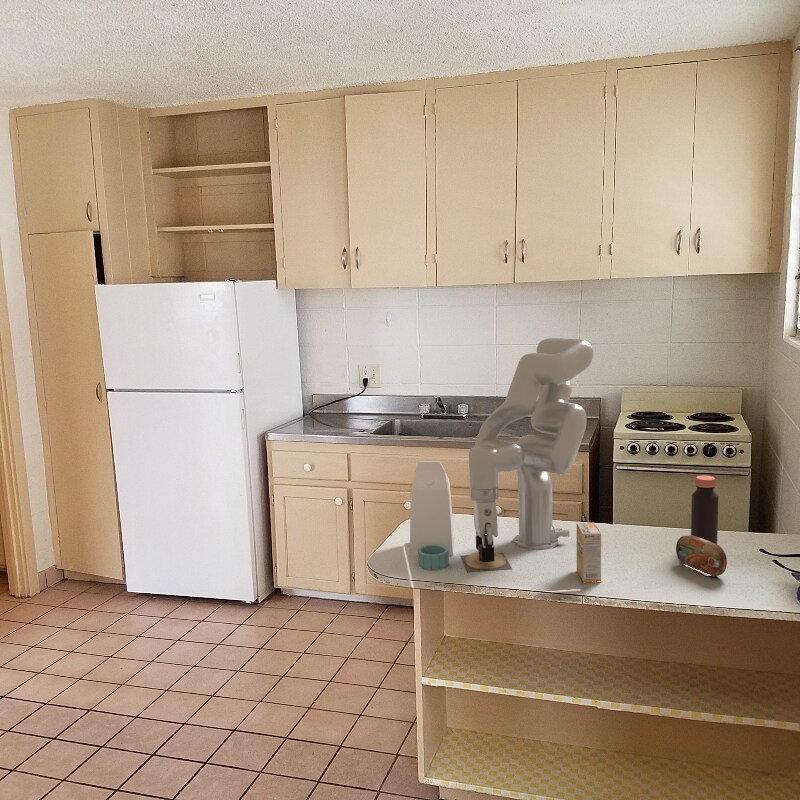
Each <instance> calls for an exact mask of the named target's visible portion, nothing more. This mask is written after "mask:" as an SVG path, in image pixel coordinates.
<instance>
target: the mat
mask: <svg viewBox="0 0 800 800" xmlns="http://www.w3.org/2000/svg"><path fill="white" fill-rule="evenodd" d="M497 553H498V554H501V555H503V556H504V557H505V558H506V564H505V566H503V567H501V568H498V569H494V570H478V569H473V568H470V567H468V566H467V565H466V564H465V558H466V557H467V556H468V555H469V554H465V555H459V556H460V558H461V561H462V563H463V564H462V565H463V566H464V568H465V571H466V573H481V572H493V571H494V572H495V571H496V572H497V571H510V570H511V571H512V570H513V568H512V565H511V564H510V562H509V560H508V559H507V557H506V556H505V554H504V552H497Z"/></svg>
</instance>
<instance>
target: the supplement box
mask: <svg viewBox="0 0 800 800" xmlns="http://www.w3.org/2000/svg"><path fill="white" fill-rule="evenodd" d="M576 571H577V574H578V575H579V577H580V578H581V581H583V582H592V581H593V582H597V581H601V582H602V532H601V531H600V529H599V528H598V526H597V525H596V524H595V522H578V523H576ZM583 582H582V583H583Z"/></svg>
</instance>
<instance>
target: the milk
mask: <svg viewBox="0 0 800 800" xmlns="http://www.w3.org/2000/svg"><path fill="white" fill-rule="evenodd" d="M451 494H452V493H451V483H450V479H449V476H448V474H447V472H446V470H445V468H444V466H443V464H442V462H441V460H418V463H417V466H416V468H415V472H414V475H413V480H412V484H411V489H410V501H409V502H410V503H409V504H410V507H409V511H410V512H409V513H410V516H409V517H410V518H409V527H410V528H409V531H410V532H409V556H410V557H418V549H419V548H421V547H423V546H426V545H441V546H444V547H447V548H448V556H449V557H453V556H454V546H455V537H454V520H453V508H452V495H451Z"/></svg>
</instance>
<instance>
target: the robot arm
mask: <svg viewBox="0 0 800 800" xmlns="http://www.w3.org/2000/svg"><path fill="white" fill-rule="evenodd" d="M593 358H594V348H593V346H592V345H591V343H590V342H588V341H587V340H585V339H581V338H560V337H557V338H556V337H554V338H553V337H552V338H551V337H550V338H545V339H543V340H540V342H538V344H537V347H536V352H529V353H526V354H524V355H522V357H520V359H519V360H518V364H517V366H516V368H515V371H514V374H513V377H512V381H511V383H510V385H509V387H508V390H507V394H506V397H505V400H504V402H503V403H502V404H501V405H499V406H498V407H497V408H495V410H494V411H492V412H491V414H490V415H489V416H488V417H487V418H486V419H485V420H484V421H483V423H482V424H481V426H480V429H479V431H478V433H477V434H478V435H477V437H476V440H475V443H474V446H473V447H471V448H470V449H469V451H468V470H469V471H468V472H469V473H468V475H469V476H468V477H469V478H468V479H469V480H468V481H469V482H468V483H469V499H470V500H471V501H473V524H474V529H475V534H476V535H475V549H476V550H477V551H479V547H478V546H479V545H480V544H483V547H482V561H483V562H493V561H494V553H495V545H494V544H495V541H494V537H495V538H497V537H499V536H498V535H499V531H498V516H497V515H498V513H497V503H496V501H497V500H498V499H499V473H501V472H512V471H517V487H518V490H517V494H518V496H517V498H518V500H517V501H518V534H517V535H515V536H514V537H513V543H514V545H515V546H517V547H519V548H522V549H526V550H536V551H537V550H539V551H540V550H548V549H552V548H556V547H557V546H558V545H559V539H558V538H559V537H560V538H561V537H566V538H567V537H570V530H569V529H563V528H562V527H560V528H559V527H558V528H555V527H554V526H553V482H552V478H551V475H550V474H551V473H552V474H557V475H565V474H566V473H568V472H569V471H570V470H571V469H572V468H573V467H574V463H575V461H576V457H578V453H579V451H580V450H579V449H580V447H581V444H582V441H583V438H584V436H585V431H586V428H587V421H588V420H587V419H588V417H587V413H586V410H585V408H584V407H582V406H581V405H580V404H577V403H573V402H570V398H571V395H572V391H573V384H572V381H571V380H572V379H573V378H575V377H577V376H578V375H580V374H581V373H583V372H584V371H585V370H587V369H588V368H589V366H590V365H591V363H592V362H593ZM529 416H530V417H531V419H530V424H531V427H532V428H533V430H535V431H537V432H539V433H542V434H547V435H553V436H556V438H555V437H549V436H544V435H538V434H526V435H522V436H521V437H520V438H518V439H517V441H515V443H513V442H508V441H503V440H498V438H499V436H500V434H501V433H502V431H503V430H504V429H505V428H506V427H507V426H508V425H510V424H512V423H514V422H516V421H518V420H519V421H520V420H521V419H523V418H527V417H529Z"/></svg>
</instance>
